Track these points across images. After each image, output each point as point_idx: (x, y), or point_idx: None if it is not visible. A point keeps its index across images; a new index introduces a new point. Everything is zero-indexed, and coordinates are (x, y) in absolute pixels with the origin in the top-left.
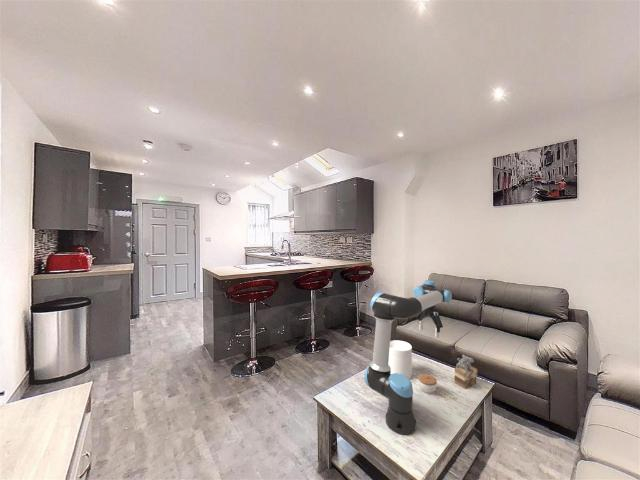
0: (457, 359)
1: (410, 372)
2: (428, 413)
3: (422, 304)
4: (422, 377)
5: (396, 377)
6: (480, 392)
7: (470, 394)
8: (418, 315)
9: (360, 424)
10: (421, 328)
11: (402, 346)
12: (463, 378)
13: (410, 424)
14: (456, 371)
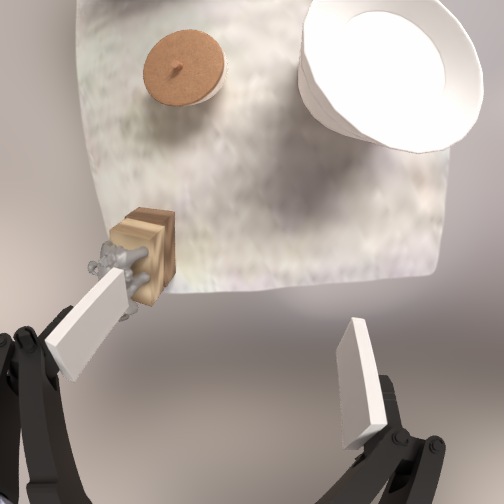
0: (128, 270)
1: (299, 85)
2: (136, 2)
3: None
4: (196, 50)
5: None
6: (111, 228)
7: (115, 192)
8: (417, 499)
9: None
10: (346, 345)
11: (409, 111)
12: (126, 221)
13: None
14: (148, 232)
